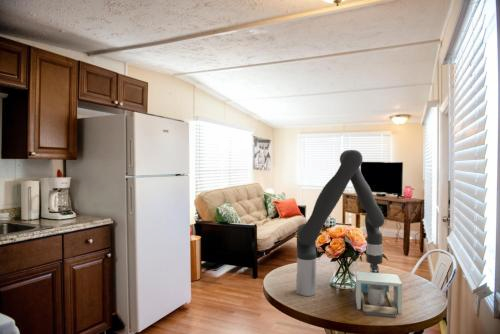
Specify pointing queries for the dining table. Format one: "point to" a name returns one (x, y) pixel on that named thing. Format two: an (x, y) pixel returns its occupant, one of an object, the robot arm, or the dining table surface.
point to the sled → (378, 308)
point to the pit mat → (380, 314)
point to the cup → (376, 294)
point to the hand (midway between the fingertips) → (374, 286)
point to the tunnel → (380, 280)
